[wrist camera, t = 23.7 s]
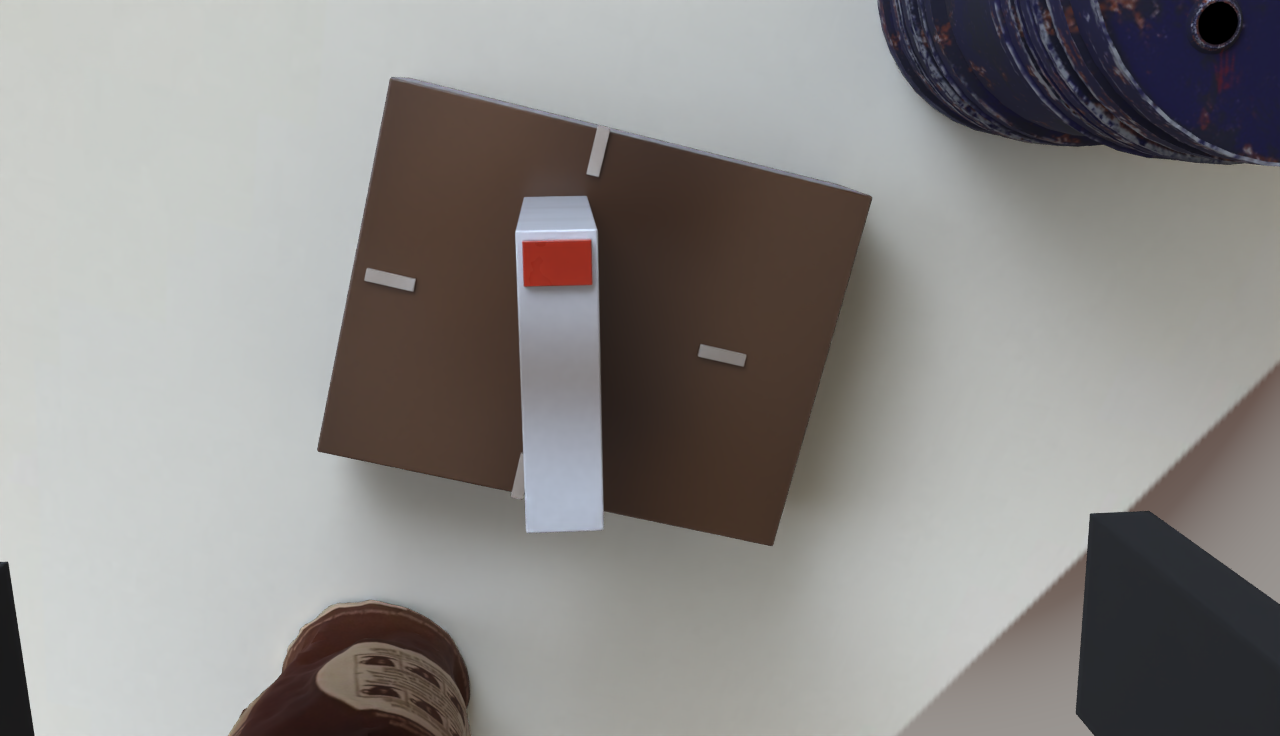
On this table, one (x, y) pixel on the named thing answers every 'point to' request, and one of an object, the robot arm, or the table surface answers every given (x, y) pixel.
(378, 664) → the coffee cup
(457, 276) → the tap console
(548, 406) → the white block
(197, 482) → the table surface
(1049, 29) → the blue barrel
